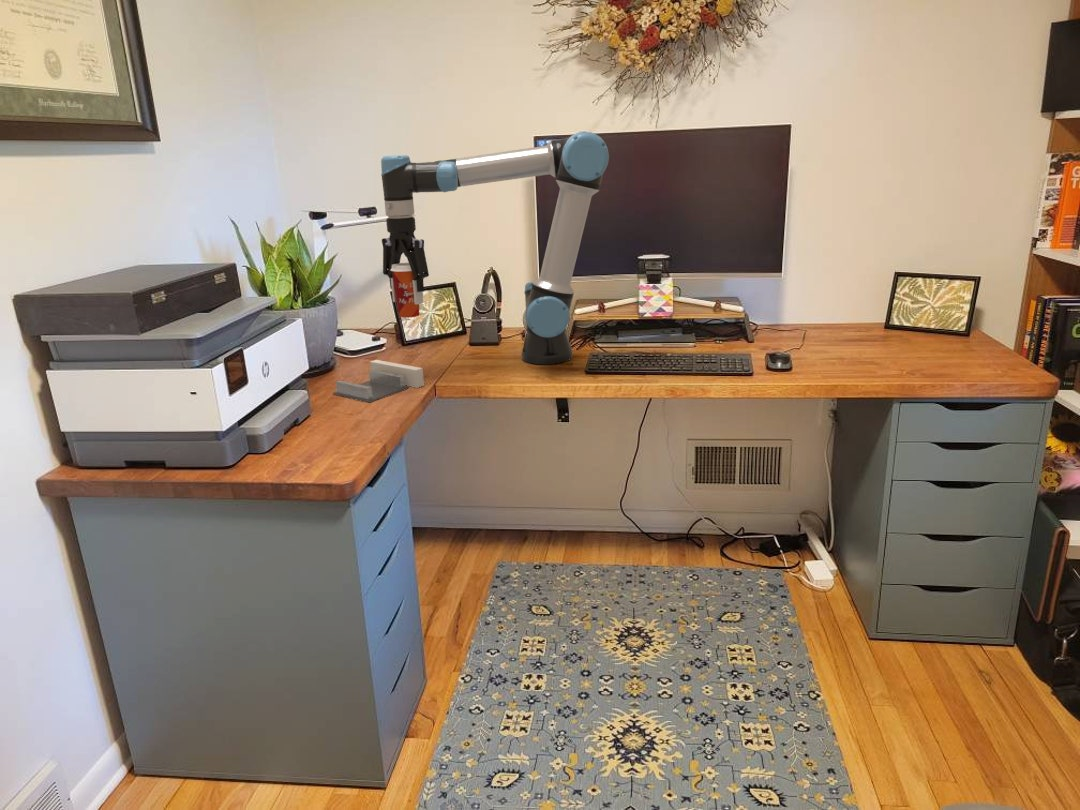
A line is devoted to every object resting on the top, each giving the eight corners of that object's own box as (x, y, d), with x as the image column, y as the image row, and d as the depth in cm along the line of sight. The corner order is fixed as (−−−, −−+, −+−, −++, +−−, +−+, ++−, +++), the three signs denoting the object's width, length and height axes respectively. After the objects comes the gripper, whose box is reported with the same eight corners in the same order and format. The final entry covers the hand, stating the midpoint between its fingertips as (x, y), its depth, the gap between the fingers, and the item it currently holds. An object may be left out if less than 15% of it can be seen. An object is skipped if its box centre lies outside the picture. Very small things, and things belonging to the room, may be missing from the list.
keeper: (409, 388, 206) (407, 375, 205) (369, 402, 195) (368, 389, 194) (373, 381, 214) (371, 368, 213) (333, 394, 203) (331, 381, 202)
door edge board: (424, 385, 208) (422, 368, 206) (417, 388, 206) (416, 370, 204) (378, 376, 218) (376, 359, 216) (371, 378, 216) (369, 361, 214)
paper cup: (402, 319, 206) (397, 267, 202) (390, 315, 212) (385, 264, 208) (428, 315, 211) (424, 264, 206) (415, 311, 217) (411, 261, 212)
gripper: (363, 217, 206) (372, 301, 213) (418, 218, 194) (425, 308, 202) (383, 214, 212) (392, 296, 219) (438, 216, 200) (445, 302, 207)
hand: (408, 302), depth 210 cm, fingers closed on paper cup, 8 cm apart
